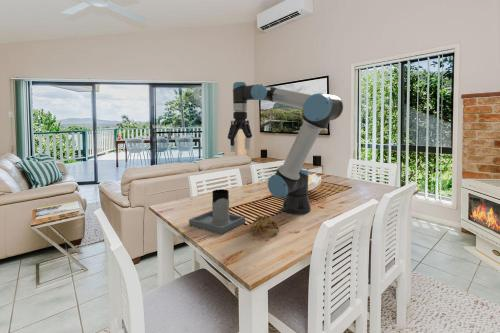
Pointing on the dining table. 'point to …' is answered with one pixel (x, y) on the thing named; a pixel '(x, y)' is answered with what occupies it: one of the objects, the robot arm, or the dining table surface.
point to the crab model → (264, 223)
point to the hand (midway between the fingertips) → (240, 150)
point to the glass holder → (220, 207)
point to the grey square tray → (206, 223)
